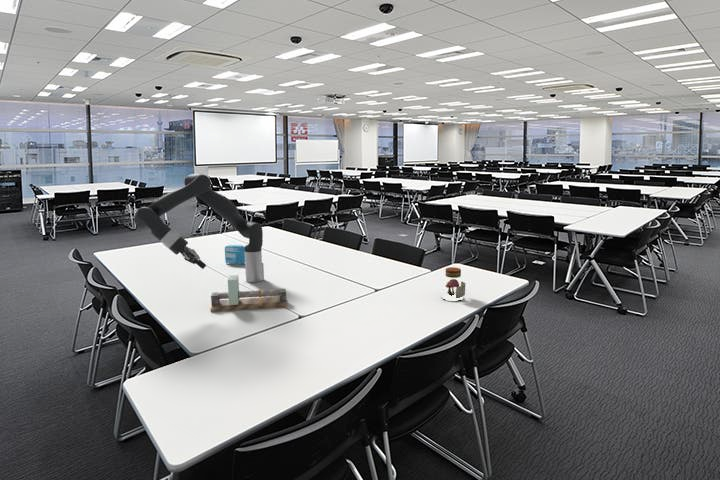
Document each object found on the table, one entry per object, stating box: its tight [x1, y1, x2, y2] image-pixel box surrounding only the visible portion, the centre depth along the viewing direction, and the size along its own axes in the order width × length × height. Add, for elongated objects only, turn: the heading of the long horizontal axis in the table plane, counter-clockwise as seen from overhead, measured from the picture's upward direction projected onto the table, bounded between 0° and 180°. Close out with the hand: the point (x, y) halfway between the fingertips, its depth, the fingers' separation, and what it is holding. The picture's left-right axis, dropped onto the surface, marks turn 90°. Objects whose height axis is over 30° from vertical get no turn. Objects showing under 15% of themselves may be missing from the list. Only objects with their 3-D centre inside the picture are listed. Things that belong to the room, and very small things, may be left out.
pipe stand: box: [210, 288, 288, 313], centre depth 210 cm, size 34×12×7 cm, turn 100°
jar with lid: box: [445, 266, 466, 298], centre depth 218 cm, size 12×13×15 cm
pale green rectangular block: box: [227, 274, 241, 305], centre depth 208 cm, size 4×8×12 cm, turn 10°
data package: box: [224, 244, 245, 265], centre depth 289 cm, size 12×4×12 cm, turn 75°
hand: (204, 267), depth 203 cm, fingers closed
